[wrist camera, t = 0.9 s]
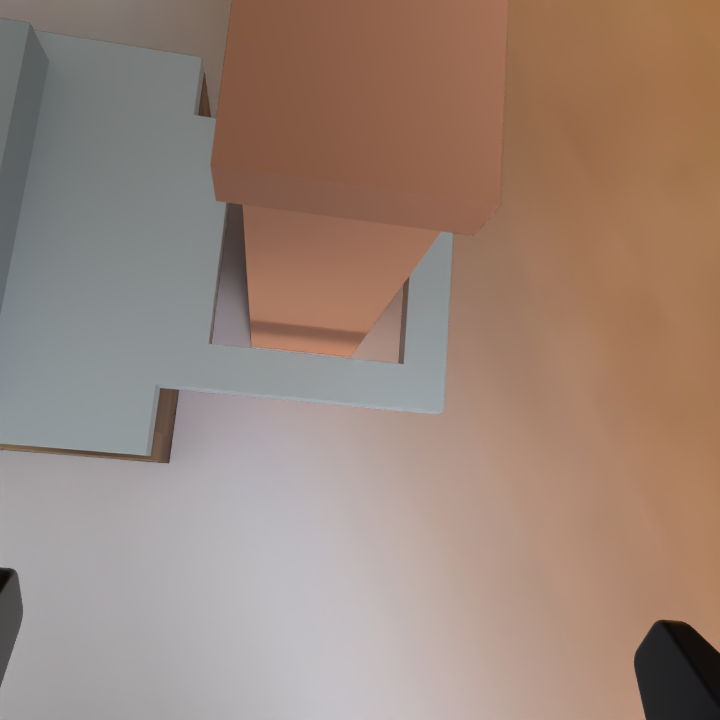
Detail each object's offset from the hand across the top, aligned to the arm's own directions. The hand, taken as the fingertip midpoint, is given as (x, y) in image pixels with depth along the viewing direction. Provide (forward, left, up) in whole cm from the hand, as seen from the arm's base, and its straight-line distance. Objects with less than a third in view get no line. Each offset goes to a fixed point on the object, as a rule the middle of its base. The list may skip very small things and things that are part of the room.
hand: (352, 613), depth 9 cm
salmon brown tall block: (+7, +4, -13) cm, 15 cm away
